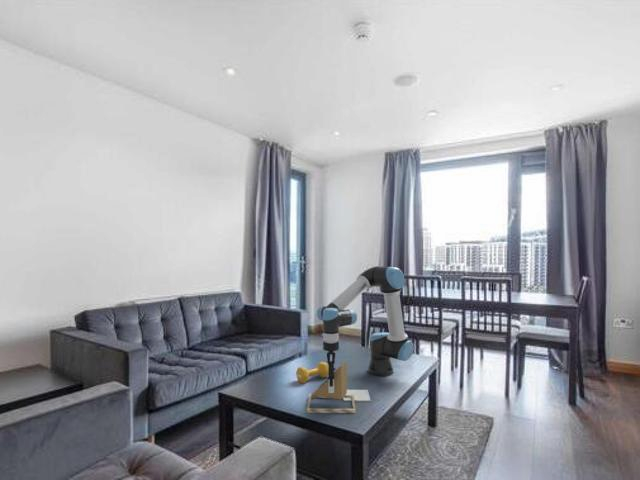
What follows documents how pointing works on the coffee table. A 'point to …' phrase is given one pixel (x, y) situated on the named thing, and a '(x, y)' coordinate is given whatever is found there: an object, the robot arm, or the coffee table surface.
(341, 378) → the sandwich container
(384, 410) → the coffee table surface
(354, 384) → the coffee table surface
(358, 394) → the grey pad
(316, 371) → the dumbbell
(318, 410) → the birch frame
